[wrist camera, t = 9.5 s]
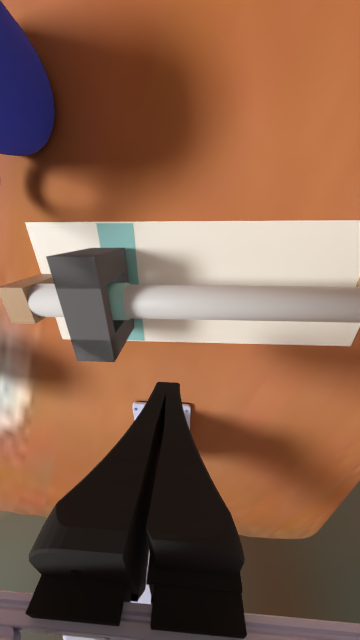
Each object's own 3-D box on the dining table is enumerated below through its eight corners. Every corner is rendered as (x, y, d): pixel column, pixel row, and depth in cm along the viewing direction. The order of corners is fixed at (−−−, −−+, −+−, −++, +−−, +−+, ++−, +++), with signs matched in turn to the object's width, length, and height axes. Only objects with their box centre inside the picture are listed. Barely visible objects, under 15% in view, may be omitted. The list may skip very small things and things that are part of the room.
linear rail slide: (347, 344, 21) (395, 379, 16) (64, 337, 22) (29, 367, 17) (404, 220, 15) (500, 216, 11) (28, 222, 17) (-36, 220, 12)
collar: (134, 326, 20) (114, 362, 15) (107, 326, 20) (77, 360, 15) (124, 247, 17) (94, 256, 11) (91, 247, 17) (45, 256, 11)
